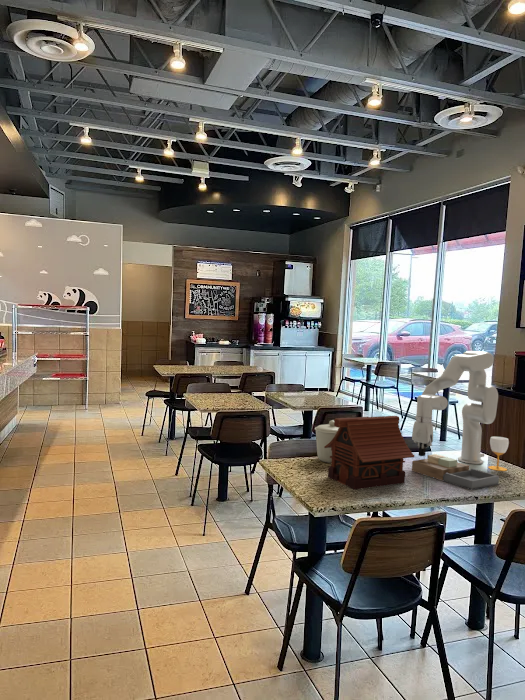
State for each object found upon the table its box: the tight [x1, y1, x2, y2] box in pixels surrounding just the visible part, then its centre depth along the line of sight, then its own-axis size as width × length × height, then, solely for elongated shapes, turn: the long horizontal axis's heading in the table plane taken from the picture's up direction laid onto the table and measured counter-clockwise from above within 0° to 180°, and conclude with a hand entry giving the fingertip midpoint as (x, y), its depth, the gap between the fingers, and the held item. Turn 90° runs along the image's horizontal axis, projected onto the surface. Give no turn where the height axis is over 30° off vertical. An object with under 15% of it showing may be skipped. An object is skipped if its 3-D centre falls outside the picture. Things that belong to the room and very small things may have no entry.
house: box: [324, 415, 415, 490], centre depth 235 cm, size 35×28×29 cm
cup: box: [487, 435, 510, 472], centre depth 268 cm, size 9×9×16 cm
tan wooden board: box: [411, 458, 470, 482], centre depth 254 cm, size 20×18×5 cm
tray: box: [442, 468, 500, 491], centre depth 240 cm, size 20×15×4 cm
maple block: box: [427, 453, 446, 464], centre depth 256 cm, size 6×6×3 cm
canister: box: [314, 419, 339, 464], centre depth 269 cm, size 18×18×21 cm
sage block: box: [438, 456, 458, 467], centre depth 251 cm, size 6×6×3 cm
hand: (421, 455), depth 264 cm, fingers closed
